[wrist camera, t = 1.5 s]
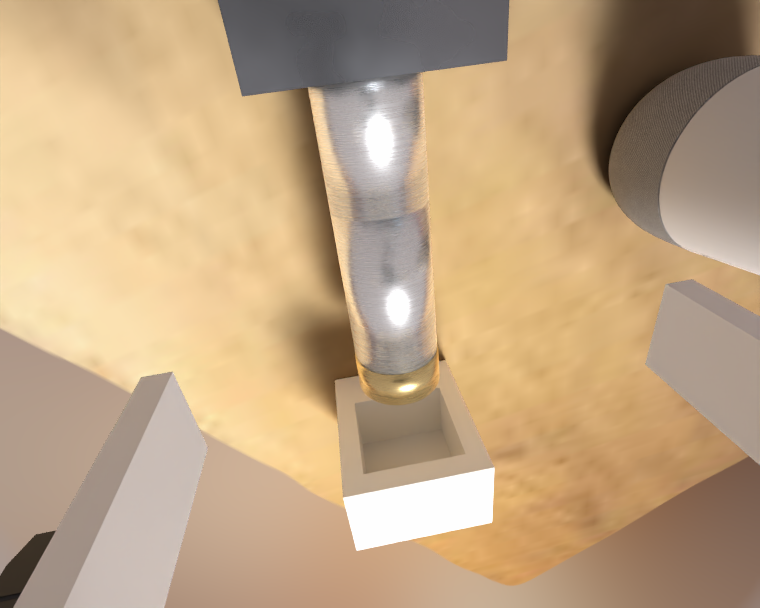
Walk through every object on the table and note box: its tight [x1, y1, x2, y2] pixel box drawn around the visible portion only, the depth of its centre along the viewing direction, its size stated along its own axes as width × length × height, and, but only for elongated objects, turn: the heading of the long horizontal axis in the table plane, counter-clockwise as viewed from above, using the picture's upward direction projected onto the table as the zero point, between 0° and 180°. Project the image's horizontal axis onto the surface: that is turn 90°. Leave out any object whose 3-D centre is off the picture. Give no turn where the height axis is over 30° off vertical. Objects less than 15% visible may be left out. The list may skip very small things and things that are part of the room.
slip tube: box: [308, 72, 440, 405], centre depth 17 cm, size 26×4×4 cm, turn 7°
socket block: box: [335, 360, 494, 550], centre depth 28 cm, size 5×8×10 cm, turn 96°
